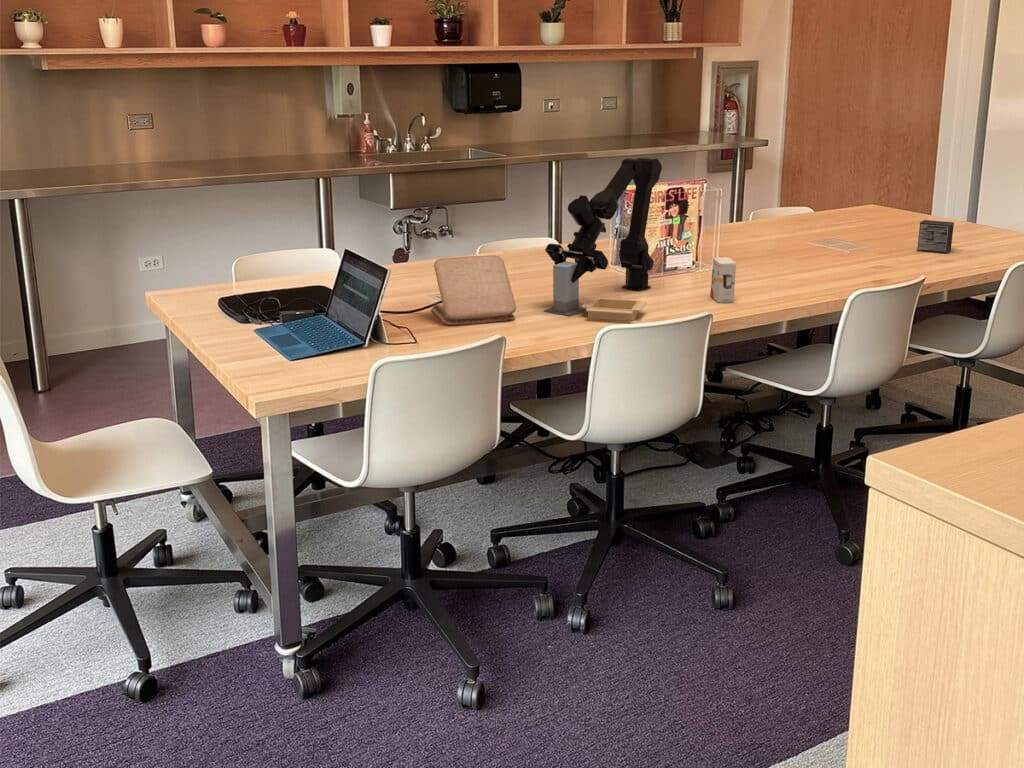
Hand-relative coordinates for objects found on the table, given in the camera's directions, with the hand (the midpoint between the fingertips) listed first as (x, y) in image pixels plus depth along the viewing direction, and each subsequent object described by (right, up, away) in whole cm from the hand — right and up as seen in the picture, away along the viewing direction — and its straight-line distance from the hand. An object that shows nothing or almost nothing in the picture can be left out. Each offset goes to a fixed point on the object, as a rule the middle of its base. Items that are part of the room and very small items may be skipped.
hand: (563, 280), depth 313 cm
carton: (+14, -9, 0) cm, 17 cm away
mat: (+1, -8, +4) cm, 9 cm away
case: (-26, -10, 0) cm, 27 cm away
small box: (+135, +18, +82) cm, 159 cm away
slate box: (+1, -8, +4) cm, 9 cm away
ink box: (+47, -4, +16) cm, 50 cm away
